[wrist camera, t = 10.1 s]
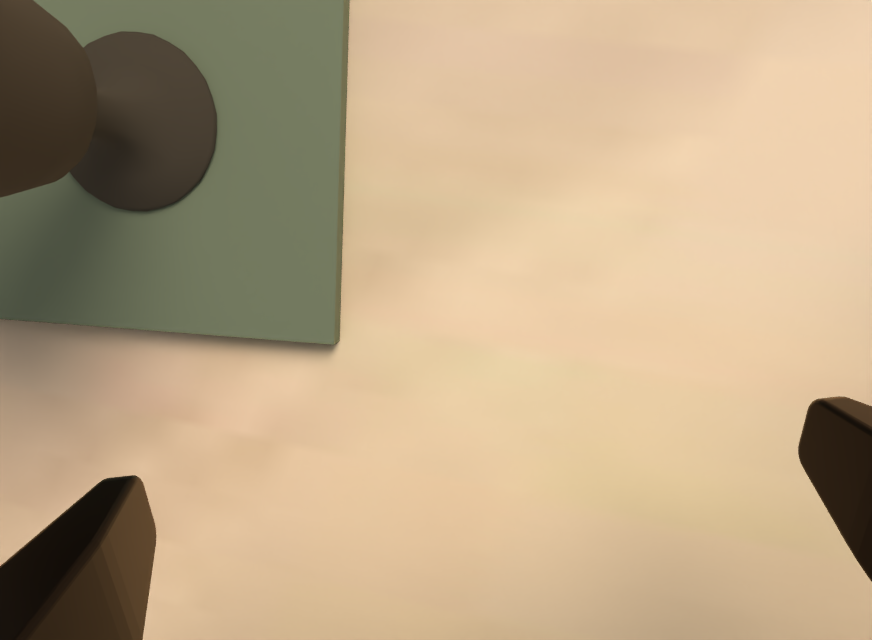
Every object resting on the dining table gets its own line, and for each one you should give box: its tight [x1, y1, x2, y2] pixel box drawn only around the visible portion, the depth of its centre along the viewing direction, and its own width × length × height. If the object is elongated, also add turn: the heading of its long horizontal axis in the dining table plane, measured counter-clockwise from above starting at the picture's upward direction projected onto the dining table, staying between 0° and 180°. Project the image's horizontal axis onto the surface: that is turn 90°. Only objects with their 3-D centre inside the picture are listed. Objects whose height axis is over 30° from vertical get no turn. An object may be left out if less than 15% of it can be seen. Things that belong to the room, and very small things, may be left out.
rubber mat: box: [0, 0, 349, 345], centre depth 20 cm, size 12×12×1 cm
